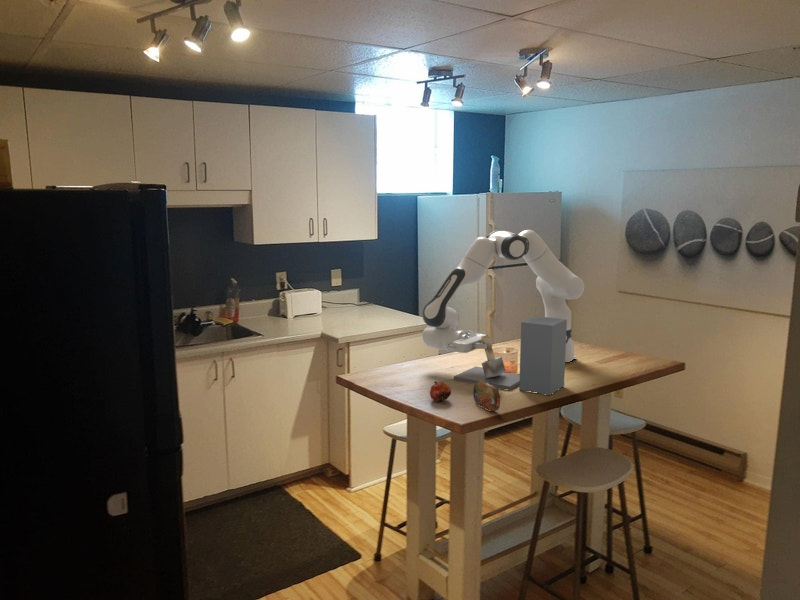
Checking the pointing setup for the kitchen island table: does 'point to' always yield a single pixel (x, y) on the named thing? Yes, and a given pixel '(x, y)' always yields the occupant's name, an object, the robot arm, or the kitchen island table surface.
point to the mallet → (491, 361)
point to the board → (497, 381)
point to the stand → (542, 354)
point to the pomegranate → (440, 391)
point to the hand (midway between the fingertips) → (489, 345)
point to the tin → (486, 396)
